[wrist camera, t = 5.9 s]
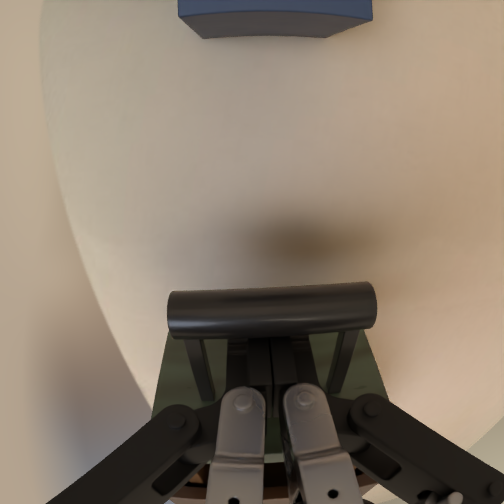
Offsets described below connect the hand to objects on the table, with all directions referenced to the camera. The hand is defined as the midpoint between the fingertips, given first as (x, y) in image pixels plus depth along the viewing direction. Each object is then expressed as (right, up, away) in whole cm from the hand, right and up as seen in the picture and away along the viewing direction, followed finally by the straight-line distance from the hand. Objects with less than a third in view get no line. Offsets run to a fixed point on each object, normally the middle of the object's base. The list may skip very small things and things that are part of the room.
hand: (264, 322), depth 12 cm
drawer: (0, -4, +7) cm, 8 cm away
